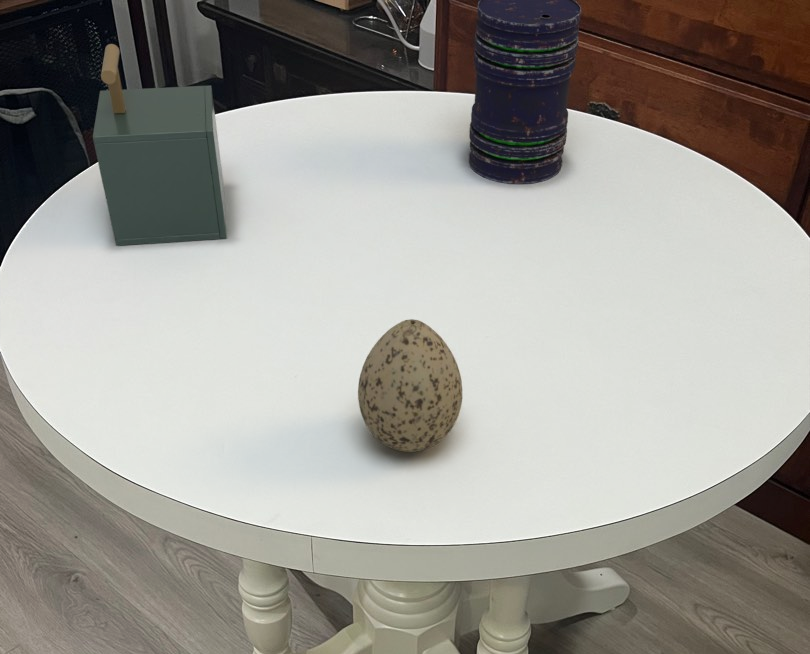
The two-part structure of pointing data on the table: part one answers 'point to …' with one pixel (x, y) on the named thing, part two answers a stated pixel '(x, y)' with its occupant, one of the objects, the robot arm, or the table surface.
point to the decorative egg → (410, 388)
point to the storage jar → (522, 88)
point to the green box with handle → (159, 161)
